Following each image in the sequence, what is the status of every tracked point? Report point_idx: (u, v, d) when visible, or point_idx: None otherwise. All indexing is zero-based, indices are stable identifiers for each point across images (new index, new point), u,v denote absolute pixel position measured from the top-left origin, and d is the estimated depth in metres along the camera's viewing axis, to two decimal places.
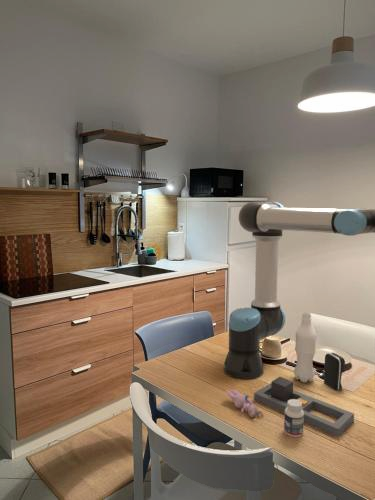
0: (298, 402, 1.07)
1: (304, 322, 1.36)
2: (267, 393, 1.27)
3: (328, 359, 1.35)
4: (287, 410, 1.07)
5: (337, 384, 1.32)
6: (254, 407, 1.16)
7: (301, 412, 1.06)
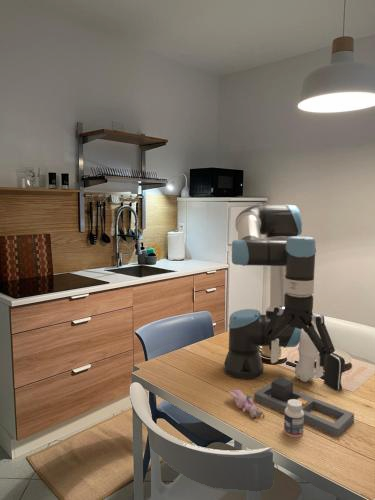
0: (298, 402, 1.07)
1: None
2: (267, 393, 1.27)
3: (328, 359, 1.35)
4: (287, 410, 1.07)
5: (337, 384, 1.32)
6: (255, 407, 1.16)
7: (301, 412, 1.06)
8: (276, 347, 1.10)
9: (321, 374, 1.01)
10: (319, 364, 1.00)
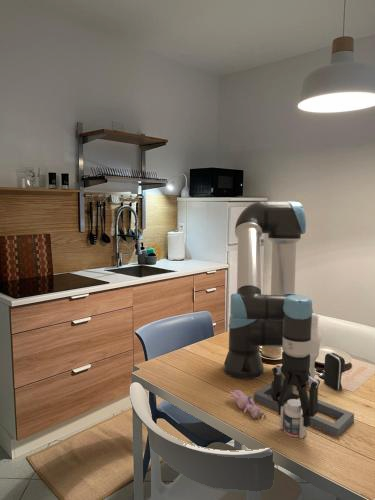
0: (298, 401, 1.07)
1: (311, 325, 1.33)
2: (267, 393, 1.27)
3: (328, 359, 1.35)
4: (287, 409, 1.07)
5: (337, 384, 1.32)
6: (257, 408, 1.16)
7: (301, 412, 1.06)
8: None
9: (305, 433, 1.06)
10: (302, 424, 1.04)
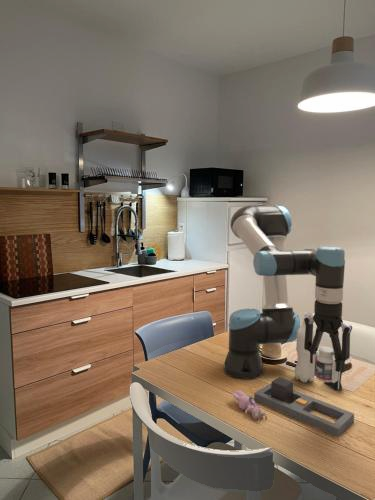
0: (329, 349, 1.12)
1: None
2: (267, 393, 1.27)
3: None
4: (319, 356, 1.12)
5: (337, 384, 1.32)
6: (258, 409, 1.15)
7: (333, 358, 1.10)
8: None
9: (337, 379, 1.10)
10: (335, 369, 1.09)
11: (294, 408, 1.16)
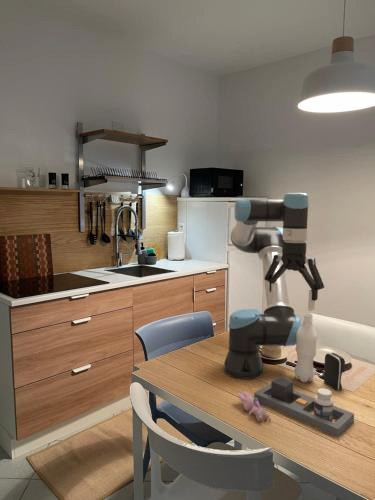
0: (327, 390, 1.14)
1: (305, 323, 1.35)
2: (267, 393, 1.27)
3: (328, 359, 1.35)
4: (317, 398, 1.13)
5: (337, 384, 1.32)
6: (262, 411, 1.14)
7: (331, 400, 1.12)
8: (275, 289, 1.29)
9: (313, 308, 1.20)
10: (311, 299, 1.19)
11: (294, 408, 1.16)
